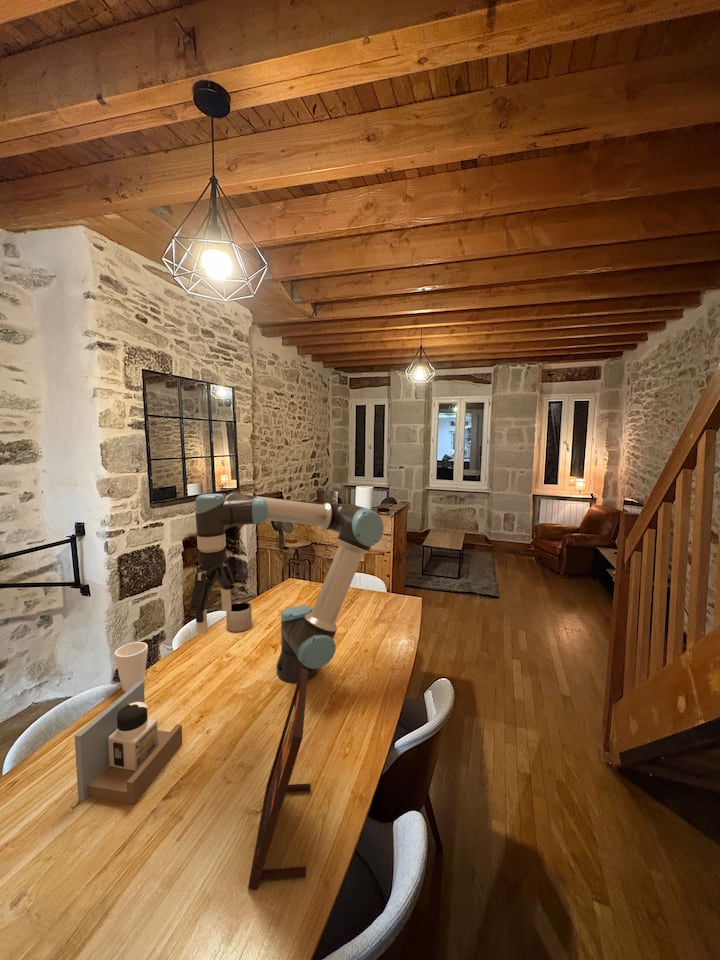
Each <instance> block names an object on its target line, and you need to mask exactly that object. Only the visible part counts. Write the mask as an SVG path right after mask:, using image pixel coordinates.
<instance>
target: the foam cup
mask: <svg viewBox="0 0 720 960" xmlns="http://www.w3.org/2000/svg"><path fill="white" fill-rule="evenodd" d="M148 654H149V645H148V644H147V643H146V642H144V641H143V642H142V641H136V642H130V643H126V644H124V645H122V646H120V647H119V648H117V649H116V650H115V652H114V661H115V662H116V669H117V672H118V678H119V681H120V682H119V683H120V686H121V690H122V691H123V692H124V693H126V692H127V691H128V690H129V689H130V688H131V687H133V686H134V685H135V684H136V683H137V682H139V681H142V682H144V683H145V678H146V677H145V676H146V668H147V667H146V666H147V658H148ZM134 679H135V680H134Z"/></svg>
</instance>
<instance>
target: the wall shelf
mask: <svg viewBox="0 0 720 960" xmlns="http://www.w3.org/2000/svg"><path fill="white" fill-rule="evenodd" d="M134 702H143V703H145V702H146V701H145V681H144V682H142V681H139V682H137V683H136V684H135V685H134V686H133V687H131V688H130V689H129V690H128V691H127V692H124V693H123V694H122V695H121V696H119V697H118V698H117V699H116V700H115V701H114V702H112V703H111V704H110V705H109V706H108V707H107V708H105V709H104V710H103V711H102V712H100V713H99V714H98V715H97V716H96V717H95V718H94V719H92V720H91V721H90V722H89V723H88V724H86V725H85V726H84V727H83V728H82V729H80V730H79V731H78V732H77V733H76V734H75V735H74V749H75V751H74V752H75V765H76V780H77V798H78V799H77V800H78V801H79V802H85V801H87V800H88V798H89V799H92V800H93V799H95V800H100V801H104V802H105V801H106V802H112V803H116V804H117V803H118V804H123V805H130V806H135V804H136V803H137V802H138V800H140V798H141V797H142V795H144V793H145V792H146V791H147V789H148V788H149V787H150V785H151V784H152V783H153V782H154V780H155V779H156V778H157V776H158V775H160V772H161V771H162V770H163V769H164V768H165V767H166V765H167V764H168V763H169V761H170V760H171V759H172V757H174V755H175V754H176V753H177V751H178V750H179V749H180V747H181V746H182V745H183V725H182V724H178V723H177V724H176V725H175V726H174V727H173V728H172V729H171V730H170V731H167V730H158V729H157V731H158V746H157V748H156V749H155V750H154V751H153V752H152V753H151V755H150V756H149V757H148V758H147V759H146V760H145V761H144V763H143V764H142V765H141V766H140V767H139V768H138V770H137V771H133V770H128V769H123V768H117V767H112V766H110V765H109V749H108V737H109V736H110V735H111V734H112V733H113V732H114V731H116V730H117V729H118V728H117V714H118V712H119V711H120V710H121V709H122V708H123V707H124V706H126V705H128V704H131V703H134ZM145 704H146V703H145Z"/></svg>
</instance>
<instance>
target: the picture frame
mask: <svg viewBox="0 0 720 960" xmlns="http://www.w3.org/2000/svg"><path fill="white" fill-rule="evenodd" d="M308 681H309V680H308V669H304V668H302V669H301V672H300V675H299V679H298V682H296V686H295V688H294V693H293V695H292V700H291V703H290V705H289V710H288V712H287V717H286V720H285V723H284V726H283V730H282V732H281V737H280V739H279V742H278V746H277V751H276V753H275V756H274V760H273V763H272V766H271V770H270V772H269V776H268V780H267V783H266V786H265V790H264V791H265V792H264V798H263V804H262V808H261V814H260V820H259V825H258V831H257V836H256V842H255V847H254V853H253V857H252V864H251V870H250V874H249V879H248V886H247V890H253V891H257V889H258V886H259V883H260V881H271V880H272V881H273V880H284V879H285V880H286V879H298V878H306V877H307V866H292V867H278V868H267V869H266V868H265V869H264V866H265V863H266V860H267V856H268V855H269V854H268V853H269V850H270V846H271V843H272V840H273V836H274V834H275V830H276V826H277V823H278V820H279V817H280V814H281V810H282V807H283V803H284V801H285V798H286V794H287V793H298V792H299V793H300V792H311V785H312V784H311V783H295V784H292V783H291V784H290V781H291V777H292V775H293V771H294V768H295V765H296V761H297V758H298V755H299V751H300V748H301V745H302V741H303V736H304V734H303V733H304V725H305V714H306V713H305V712H306V703H307V702H306V699H307V689H308Z"/></svg>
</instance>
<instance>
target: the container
mask: <svg viewBox="0 0 720 960" xmlns="http://www.w3.org/2000/svg"><path fill="white" fill-rule="evenodd" d="M148 712H149V711H148V705H147V703H143V702H134V703H131V704H128V705H126V706H124V707H123V708H122V709H121V710H120V711H119V712H118V714H117V728H118V729H117V730H116V731H114V732H113V733H112V734H111V735H110V736H109V737H108V749H109V765H110V766H112V767H117V768H123V769H128V770H133V771H137V770H138V768H139V767H140V766H141V765H142V764H143V763H144V761H145V760H146V759H147V758H148V757H149V756H150V755H151V753H152V752H153V751H154V750H155V749H156V748H157V746H158V731H157V730H158V719H154V718H149V714H148Z"/></svg>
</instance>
